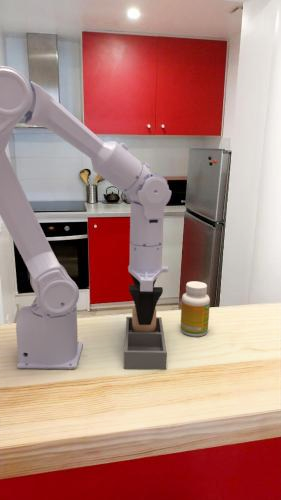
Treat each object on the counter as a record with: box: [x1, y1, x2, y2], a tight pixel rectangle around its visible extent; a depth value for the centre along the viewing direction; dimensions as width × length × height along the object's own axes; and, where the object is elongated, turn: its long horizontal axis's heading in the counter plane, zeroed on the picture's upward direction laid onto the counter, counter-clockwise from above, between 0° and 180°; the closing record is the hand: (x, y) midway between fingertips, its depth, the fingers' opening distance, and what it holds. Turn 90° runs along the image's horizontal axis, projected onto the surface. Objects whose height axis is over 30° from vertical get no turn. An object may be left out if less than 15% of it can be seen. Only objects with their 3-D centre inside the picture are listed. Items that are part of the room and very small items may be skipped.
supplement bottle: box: [179, 280, 211, 338], centre depth 70 cm, size 5×5×10 cm
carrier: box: [123, 316, 168, 370], centre depth 64 cm, size 7×13×3 cm, turn 1°
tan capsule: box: [131, 305, 157, 332], centre depth 67 cm, size 4×4×7 cm
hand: (144, 314), depth 66 cm, fingers open, 7 cm apart
